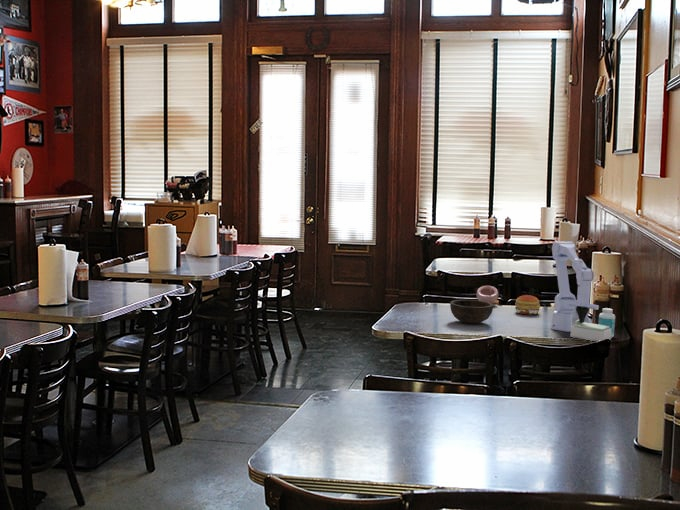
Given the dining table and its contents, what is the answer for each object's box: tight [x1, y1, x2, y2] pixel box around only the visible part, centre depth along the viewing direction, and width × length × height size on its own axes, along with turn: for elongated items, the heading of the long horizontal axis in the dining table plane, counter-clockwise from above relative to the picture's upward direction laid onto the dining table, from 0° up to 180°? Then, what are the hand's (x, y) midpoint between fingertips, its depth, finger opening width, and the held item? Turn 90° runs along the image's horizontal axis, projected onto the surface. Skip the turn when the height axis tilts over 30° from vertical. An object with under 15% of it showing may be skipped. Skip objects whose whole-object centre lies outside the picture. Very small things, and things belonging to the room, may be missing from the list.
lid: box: [573, 318, 610, 331], centre depth 399 cm, size 14×9×2 cm, turn 53°
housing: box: [569, 324, 612, 342], centre depth 399 cm, size 16×10×6 cm, turn 53°
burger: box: [514, 294, 541, 315], centre depth 458 cm, size 14×14×10 cm
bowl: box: [449, 299, 494, 325], centre depth 428 cm, size 22×22×10 cm
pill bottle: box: [598, 307, 616, 339], centre depth 405 cm, size 8×7×14 cm
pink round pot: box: [476, 284, 499, 305], centre depth 480 cm, size 12×12×11 cm
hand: (581, 322), depth 401 cm, fingers closed
